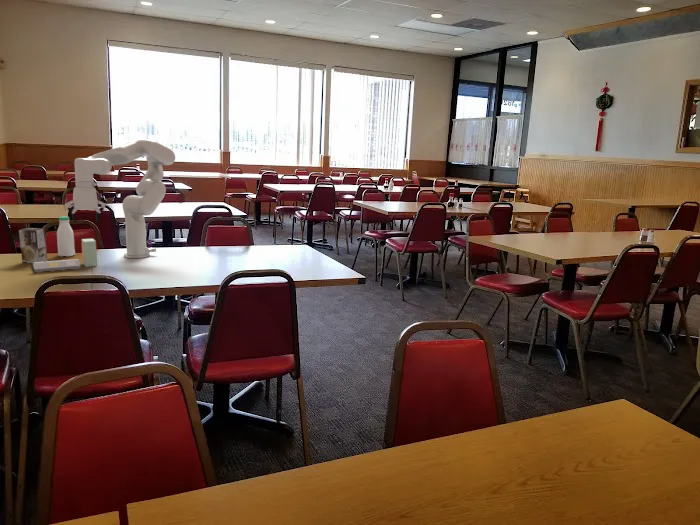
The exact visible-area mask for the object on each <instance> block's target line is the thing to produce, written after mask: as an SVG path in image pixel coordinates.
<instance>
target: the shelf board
mask: <svg viewBox="0 0 700 525" xmlns="http://www.w3.org/2000/svg"><path fill="white" fill-rule="evenodd" d="M32 269H33V271H34V273H35V272H37V273H42V272H41V271H50V272H53V271H52V270H62V271H64V270H63V269H74V270H80V269H81V264H80V258H79V259H77V258H76V259H62V260H60V259H59V260H50V261H49V260H47V261H46V262H34V263H32Z"/></svg>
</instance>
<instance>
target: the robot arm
mask: <svg viewBox="0 0 700 525" xmlns="http://www.w3.org/2000/svg"><path fill="white" fill-rule="evenodd" d="M142 157H145V158H146V162H147V171H146V172H145V174H144V175H143V177H142V178H141V179H140V181H139V182H138V184H137V185H136V188H135V192H136V194H137V195H135V194H133V195H132V194H130V195H127V196H126V197H124V198H123V201H122V206H121V207H122V211H123V215H124V219H125V220H124V222H125V239H126V241H125V243H126V253H124V254H123V257H124V258H127V259H144V258H148V257H150V255H151V254H150V253H156V252H157V248H156V247H148V246H147V234H146V233H147V232H146V220H145V216H150V215H152V214H154V212H155V211H156V209H157V208H158V207H159V205H160V203H161V202H162V201H163V199H164V197H165V196H166V192H167V187H166V185H165V184H164V182H163V178H164V175H165V174H164V169H163V166H170V165H173V164H174V163H175V161H176V154H175V152H174V151H173V150H172V149H171V148H169V147H167V146H165V145H163V144H161V143H160V142H158V141H156V140H153V139H150V138H149V139H145V138H139V139H135V140H132V141H131V142H127V143H125V144H123V145H121V146H118V147H114V148H111V149H108V150H105V151H100V152H98V153H95V154H93V155H91V156H88V157H77V158H75V159H74V174H75V175H74V179H75V187H74V188H73V193H72V200H70V201H68V202H66V203H65V204H64V206H65V207H66V209H67V210H68V212H70V213H71V218H72V221H73V222H74V223H77V213H76V212H77V211H78V210H80V211H81V210H82V211H83V210H84V211H85V210H87V211H88V210H95V211H96V212H95V220H96V222H100V220H101V213H102V211H104V209H105V208H106V203H104V202H103V201H100V200H98V196H97V191H96V190H97V189H96V186H98V183H97V182H95V181H94V174H97V175H106V174H109V173H110V171H111V170H112V166H119V165H120V166H121V165H126V164H129V163H131V162H133V161H136V160H138V159H140V158H142ZM71 205H72V206H73V209H72V208H71V207H70V206H71ZM99 205H101V206H100V208H99Z"/></svg>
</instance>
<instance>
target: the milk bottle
mask: <svg viewBox="0 0 700 525" xmlns="http://www.w3.org/2000/svg"><path fill="white" fill-rule="evenodd" d="M58 220H59V221H58V222H59V225H58V227H57V231H56V240H57V241H56V242H57V243H56V244H57V255H58V256H59V257H63V256H66V257H72V256H73V255H74V256H75V255H76V249H75V248H76V246H75V236H74V231H73V228H72V226H71V225H70V217H69V216H66V215H65V216H59V217H58ZM74 256H73V257H74Z"/></svg>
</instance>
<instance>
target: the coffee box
mask: <svg viewBox="0 0 700 525" xmlns="http://www.w3.org/2000/svg"><path fill="white" fill-rule="evenodd" d="M45 229H46V228H40V227H38V228H37V227H35V228H34V227H26V228H21V229H19V230H18V234H19V242H20V243H19V245H20V253H21V262H27V263H26V264H33V263H34V262H44V261H48V254H47V253H48V252H47V243H46V231H45Z"/></svg>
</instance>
